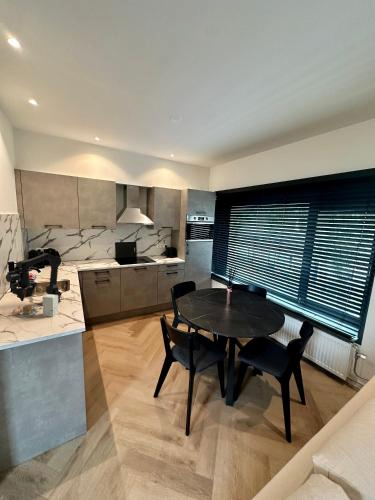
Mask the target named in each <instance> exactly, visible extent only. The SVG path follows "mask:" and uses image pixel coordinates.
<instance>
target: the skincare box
mask: <svg viewBox="0 0 375 500" xmlns="http://www.w3.org/2000/svg"><path fill="white" fill-rule="evenodd" d="M58 314H59V303H58V295H50V294H45V295H43V296H42V316H43V317H50V318H51V317H52V318H53V317H55V316H58Z"/></svg>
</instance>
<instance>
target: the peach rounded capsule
mask: <svg viewBox="0 0 375 500" xmlns="http://www.w3.org/2000/svg"><path fill="white" fill-rule="evenodd" d="M24 306H25V305H19V306H17V309H18V308H19V309H20V314H22V313H23V307H24Z"/></svg>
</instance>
